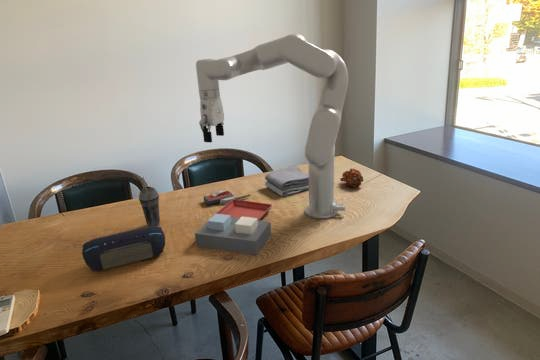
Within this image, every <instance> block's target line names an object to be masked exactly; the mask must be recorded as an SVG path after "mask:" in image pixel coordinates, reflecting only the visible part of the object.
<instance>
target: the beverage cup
mask: <svg viewBox="0 0 540 360" xmlns="http://www.w3.org/2000/svg"><path fill="white" fill-rule="evenodd" d="M142 181H143V185H144V187H143V188H142V189H141V190H140V191H139V194H138V201H139V204H140V205H141V208H142V213H143V215H144V219H145V221H146V224H147V227H149V226H158V227H160V225H161V221H160V218H161V217H160V205H159V203H160V202H159V201H160V196H159V193H158V191H157V190H156V188H154V187H152V186H147V183H146V180H145V177H144V176H142Z"/></svg>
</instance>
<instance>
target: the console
mask: <svg viewBox="0 0 540 360" xmlns="http://www.w3.org/2000/svg"><path fill="white" fill-rule="evenodd" d="M239 219H240V218H232V217H231V225H230V226H229V227H228V228H227V229H226V231H218V230H210V229H209V227H208V220H207V221H206V222H205V223H204V224H203V225H202V226H201V227H200V228H199V229H197V230H196V231H195V232H194V238H195V245H196V247H197V248H199V247H200V248H205V249H212V250H218V251H225V252H233V253H240V254H247V255H255V256H258V254H259V253H260V252H261V250H262V249H263V247H264V246H265V245H266V243H267V242H268V240H269V239H270V237H271V236H272V222H271V221H266V220H258V228H257V230H256V231H255V232H254V234H253V235H249V234H241V233H236V232H235V223H236V222H237V221H238V220H239Z"/></svg>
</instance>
